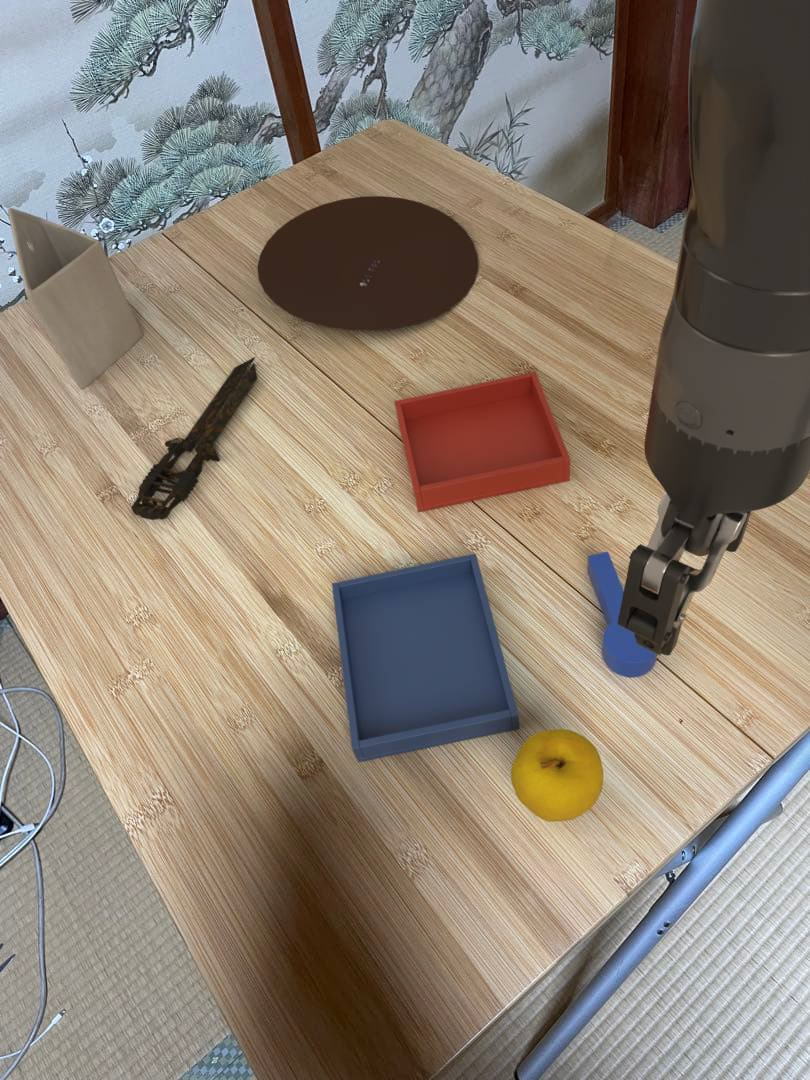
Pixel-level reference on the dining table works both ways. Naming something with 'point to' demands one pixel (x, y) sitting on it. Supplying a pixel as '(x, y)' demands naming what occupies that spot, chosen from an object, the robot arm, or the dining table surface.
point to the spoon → (616, 622)
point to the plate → (368, 264)
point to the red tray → (481, 441)
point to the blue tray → (421, 659)
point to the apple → (557, 775)
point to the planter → (74, 295)
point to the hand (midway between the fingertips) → (688, 591)
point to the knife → (187, 445)
